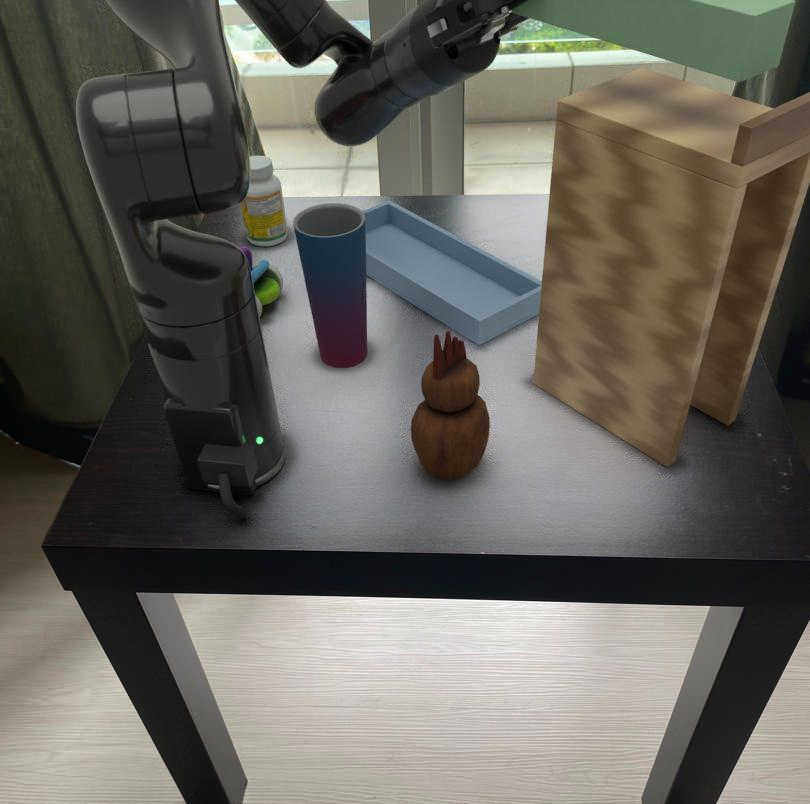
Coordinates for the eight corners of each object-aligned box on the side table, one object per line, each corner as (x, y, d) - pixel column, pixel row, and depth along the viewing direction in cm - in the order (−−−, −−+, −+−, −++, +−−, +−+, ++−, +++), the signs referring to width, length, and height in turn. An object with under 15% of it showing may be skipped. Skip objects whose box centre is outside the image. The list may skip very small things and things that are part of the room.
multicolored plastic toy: (224, 280, 102) (212, 222, 96) (296, 293, 99) (288, 234, 94) (188, 317, 96) (172, 258, 91) (263, 332, 94) (251, 272, 88)
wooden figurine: (434, 499, 74) (432, 355, 64) (403, 461, 78) (395, 320, 67) (499, 471, 77) (507, 328, 66) (465, 436, 80) (467, 295, 69)
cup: (367, 375, 87) (355, 239, 76) (304, 370, 88) (283, 234, 78) (382, 338, 92) (372, 205, 81) (321, 334, 93) (304, 201, 82)
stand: (532, 383, 85) (560, 64, 64) (600, 345, 89) (647, 33, 68) (667, 468, 76) (752, 128, 55) (735, 420, 80) (839, 87, 59)
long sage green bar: (494, 7, 70) (496, -50, 67) (532, -4, 71) (536, -61, 69) (739, 83, 57) (755, 15, 54) (778, 66, 58) (796, 0, 55)
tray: (325, 249, 106) (322, 227, 104) (390, 222, 110) (389, 200, 108) (478, 345, 90) (479, 321, 88) (547, 309, 95) (550, 285, 92)
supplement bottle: (283, 248, 106) (271, 172, 99) (242, 247, 107) (227, 171, 100) (292, 227, 110) (282, 153, 103) (253, 226, 111) (239, 152, 104)
